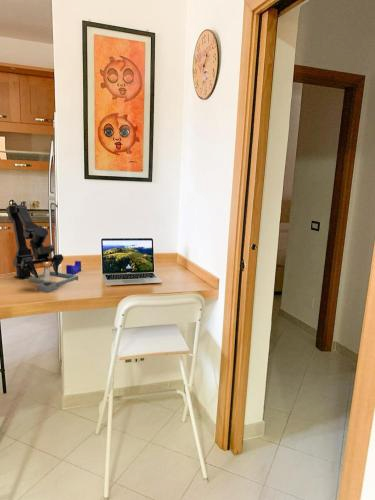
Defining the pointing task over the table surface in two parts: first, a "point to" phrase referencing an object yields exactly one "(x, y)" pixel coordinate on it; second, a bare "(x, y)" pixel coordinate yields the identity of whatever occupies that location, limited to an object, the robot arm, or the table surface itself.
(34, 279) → the tray
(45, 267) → the lock pin
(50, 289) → the lock block
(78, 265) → the cable clip
